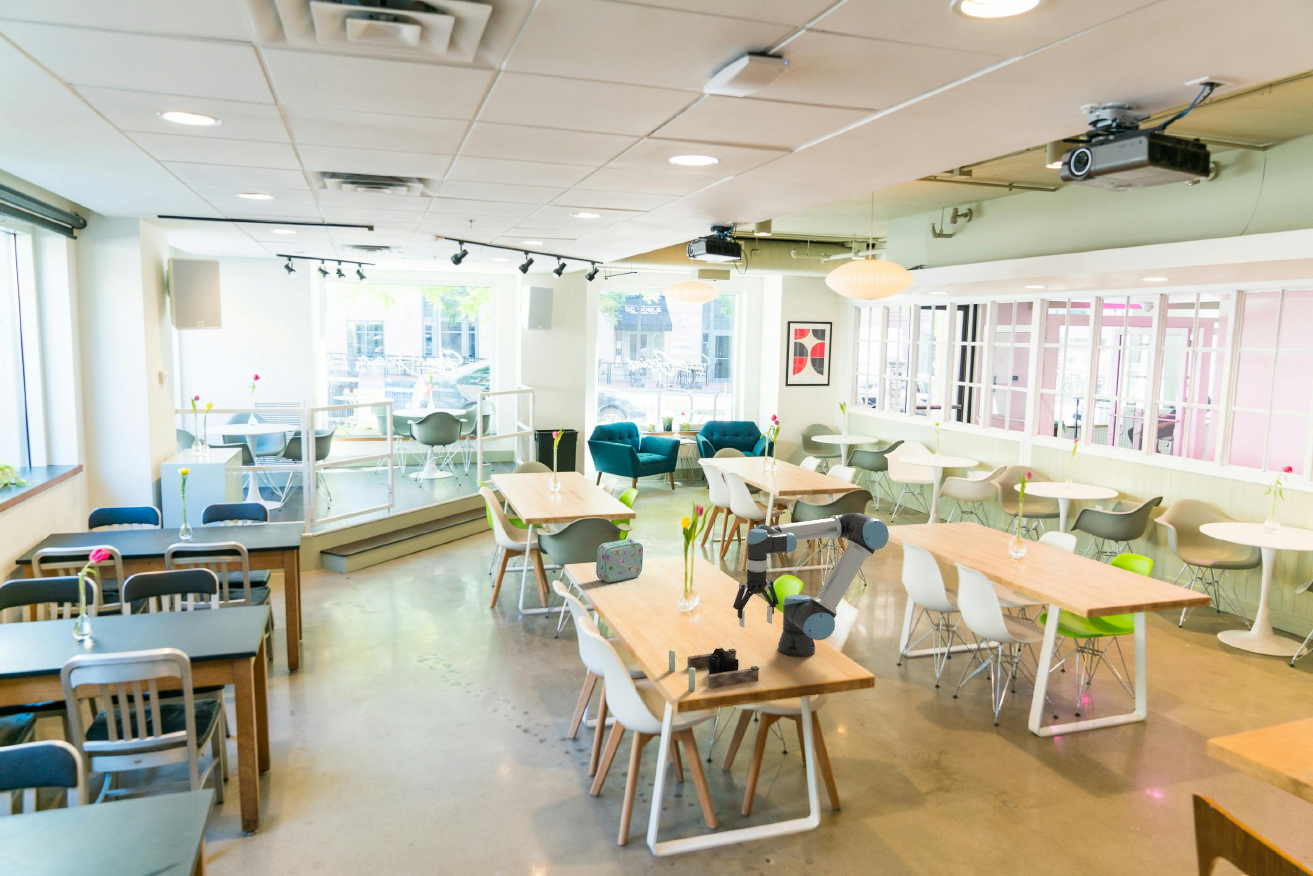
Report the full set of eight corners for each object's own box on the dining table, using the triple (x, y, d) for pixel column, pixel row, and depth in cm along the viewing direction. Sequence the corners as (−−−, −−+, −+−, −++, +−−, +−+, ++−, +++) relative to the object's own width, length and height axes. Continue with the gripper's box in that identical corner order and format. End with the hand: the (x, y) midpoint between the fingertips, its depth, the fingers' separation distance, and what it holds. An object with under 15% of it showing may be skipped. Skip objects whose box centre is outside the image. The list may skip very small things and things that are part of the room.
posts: (673, 669, 321) (673, 649, 320) (696, 690, 301) (696, 669, 300) (667, 670, 320) (668, 650, 319) (690, 691, 300) (690, 670, 300)
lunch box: (633, 572, 457) (633, 534, 455) (645, 576, 449) (645, 538, 447) (594, 581, 440) (594, 541, 438) (605, 585, 432) (605, 545, 430)
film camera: (730, 682, 309) (731, 659, 308) (706, 678, 313) (706, 655, 312) (741, 668, 323) (742, 646, 322) (717, 664, 327) (718, 642, 326)
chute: (733, 660, 331) (733, 648, 330) (759, 680, 311) (759, 668, 310) (687, 667, 323) (687, 654, 323) (710, 688, 303) (710, 675, 303)
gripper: (778, 564, 325) (777, 617, 328) (724, 569, 317) (723, 624, 319) (788, 569, 318) (787, 623, 321) (733, 575, 310) (732, 631, 312)
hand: (755, 624), depth 320 cm, fingers open, 11 cm apart
